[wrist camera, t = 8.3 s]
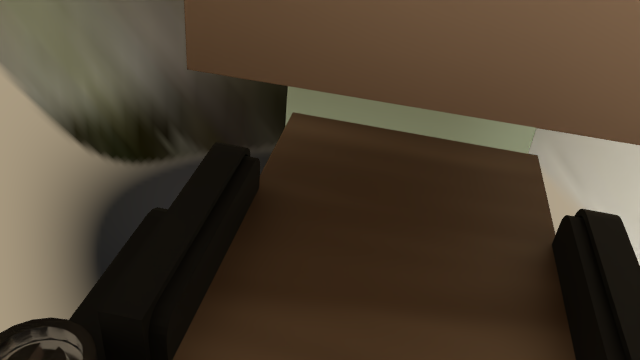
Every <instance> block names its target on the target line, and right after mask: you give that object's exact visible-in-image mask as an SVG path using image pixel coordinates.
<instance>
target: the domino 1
mask: <svg viewBox="0 0 640 360" xmlns="http://www.w3.org/2000/svg"><path fill="white" fill-rule="evenodd" d="M184 9H185V31H186V54H187V69H189V70H195V71H200V72H206V73H212V74H218V75H224V76H230V77H236V78H242V79H248V80H254V81H260V82H266V83H272V84H278V85H284V86H290V87H296V88H302V89H308V90H314V91H320V92H326V93H332V94H338V95H344V96H350V97H356V98H361V99H367V100H373V101H379V102H385V103H391V104H397V105H403V106H409V107H415V108H421V109H427V110H433V111H439V112H445V113H451V114H457V115H463V116H469V117H475V118H481V119H487V120H493V121H499V122H505V123H511V124H517V125H522V126H528V127H534V128H540V129H546V130H552V131H558V132H564V133H570V134H576V135H582V136H588V137H594V138H600V139H606V140H612V141H618V142H624V143H630V144H636V145H640V0H184Z"/></svg>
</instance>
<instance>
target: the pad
mask: <svg viewBox="0 0 640 360" xmlns="http://www.w3.org/2000/svg"><path fill="white" fill-rule="evenodd" d="M293 112H295V113H301V114H306V115H312V116H318V117H323V118H329V119H334V120H340V121H346V122H351V123H357V124H363V125H368V126H374V127H380V128H385V129H391V130H397V131H402V132H408V133H414V134H419V135H425V136H430V137H436V138H442V139H447V140H453V141H459V142H464V143H470V144H476V145H481V146H487V147H493V148H498V149H504V150H510V151H515V152H521V153H526V154H528V151H529V148H530V145H531V142H532V139H533V137H534V134H535V131H536V128H534V127H528V126H522V125H517V124H511V123H505V122H499V121H493V120H487V119H481V118H475V117H469V116H463V115H457V114H451V113H445V112H439V111H433V110H427V109H421V108H415V107H409V106H403V105H397V104H391V103H385V102H379V101H373V100H367V99H361V98H356V97H350V96H344V95H338V94H332V93H326V92H320V91H314V90H308V89H302V88H296V87H290V86H288V91H287V107H286V123H285V126H286V125H287V123H288V121H289V119H290V117H291V115H292V113H293Z"/></svg>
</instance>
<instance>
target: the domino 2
mask: <svg viewBox="0 0 640 360" xmlns="http://www.w3.org/2000/svg"><path fill="white" fill-rule="evenodd" d="M554 238H555V231H554V227H553V222H552V218H551V213H550V209H549V204H548V200H547V195H546V191H545V187H544V182H543V177H542V173H541V168H540V164H539V159H538V155H532V154H526V153H521V152H515V151H510V150H504V149H498V148H493V147H487V146H481V145H476V144H470V143H464V142H459V141H453V140H447V139H442V138H436V137H430V136H425V135H419V134H414V133H408V132H402V131H397V130H391V129H385V128H380V127H374V126H368V125H363V124H357V123H351V122H346V121H340V120H334V119H329V118H323V117H318V116H312V115H306V114H301V113H295V112H293V113H292V115H291V117H290V119H289V121H288V123H287V125H286V126H285V128H284V130H283V132H282V134H281V136H280V138H279V140H278V142H277V144H276V146H275V148H274V150H273V151H272V153H271V155H270V157H269V159H268V161H267V163H266V165H265V167H264V169H263V171H262V173H261V175H260V179H259V189H258V191H257V193H256V195H255V197H254V199H253V201H252V203H251V205H250V207H249V209H248V211H247V213H246V215H245V217H244V219H243V221H242V223H241V225H240V227H239V229H238V231H237V233H236V235H235V237H234V239H233V241H232V243H231V245H230V247H229V249H228V251H227V253H226V255H225V257H224V259H223V261H222V263H221V265H220V267H219V269H218V271H217V273H216V275H215V277H214V279H213V281H212V282H211V284H210V286H209V288H208V290H207V292H206V294H205V296H204V298H203V300H202V302H201V304H200V306H199V308H198V310H197V312H196V314H195V316H194V318H193V320H192V322H191V324H190V326H189V328H188V330H187V332H186V334H185V336H184V338H183V340H182V342H181V344H180V346H179V348H178V350H177V352H176V354H175V356H174V358H173V360H576V358H575V353H574V348H573V344H572V339H571V334H570V329H569V325H568V320H567V315H566V310H565V306H564V301H563V296H562V291H561V286H560V282H559V277H558V272H557V267H556V263H555V258H554V253H553V248H552V243H553V240H554Z"/></svg>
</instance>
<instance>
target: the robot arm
mask: <svg viewBox="0 0 640 360" xmlns="http://www.w3.org/2000/svg"><path fill="white" fill-rule="evenodd" d="M259 179H260V161H259V159H258V158H253V157H250V150H249V149H248V148H245V147H240V146H234V145H229V144H223V143H215V144H214V145H213V146H212V148H211V149H210V151H209V152H208V153H207V155H206V156H205V158H204V159H203V161H202V162H201V163H200V165H199V166H198V168H197V169H196V171H195V172H194V174H193V175H192V176H191V178H190V179H189V181H188V182H187V183H186V185H185V186H184V188H183V189H182V191H181V192H180V193H179V195H178V196H177V198H176V199H175V201H174V202H173V203H172V205H171V206H170V208H169V209H168V210H167V209H163V208H155V209H152V210H151V211H150V212H149V213H148V214H147V216H146V217H145V218H144V220H143V221H142V223H141V224H140V225H139V227H138V228H137V229H136V230H135V232H134V233H133V234H132V236H131V237H130V238H129V240H128V241H127V243H126V244H125V245H124V247H123V248H122V249H121V251H120V252H119V253H118V255H117V256H116V257H115V259H114V260H113V261H112V263H111V264H110V265H109V267H108V268H107V269H106V271H105V272H104V274H103V275H102V276H101V277H100V279H99V280H98V282H97V283H96V284H95V286H94V287H93V288H92V290H91V291H90V292H89V294H88V295H87V296H86V298H85V299H84V300H83V302H82V303H81V304H80V306H79V307H78V309H77V310H76V311H75V312H74V314H73V315H72V317H71V318H70V319H69V320H67V319H58V318H43V319H34V320H30V321H27V322H24V323H20V324H17V325H14V326H12V327H10V328H8V329H7V330H5V331H3V332H1V333H0V360H173V358H174V356H175V354H176V352H177V350H178V348H179V346H180V344H181V342H182V340H183V338H184V336H185V334H186V332H187V330H188V328H189V326H190V324H191V322H192V320H193V318H194V316H195V314H196V312H197V310H198V308H199V306H200V304H201V302H202V300H203V298H204V296H205V294H206V292H207V290H208V288H209V286H210V284H211V282H212V281H213V279H214V277H215V275H216V273H217V271H218V269H219V267H220V265H221V263H222V261H223V259H224V257H225V255H226V253H227V251H228V249H229V247H230V245H231V243H232V241H233V239H234V237H235V235H236V233H237V231H238V229H239V227H240V225H241V223H242V221H243V219H244V217H245V215H246V213H247V211H248V209H249V207H250V205H251V203H252V201H253V199H254V197H255V195H256V193H257V191H258V189H259ZM552 248H553V253H554V258H555V263H556V267H557V272H558V277H559V282H560V286H561V291H562V296H563V301H564V306H565V310H566V315H567V320H568V325H569V329H570V334H571V339H572V344H573V348H574V353H575V358H576V360H640V266H639V263H638V261H637V258H636V255H635V253H634V250H633V248H632V245H631V243H630V240H629V237H628V235H627V232H626V230H625V227H624V225H623V222H622V220H621V218H620V217H619V216H617V215H613V214H608V213H602V212H597V211H591V210H586V209H580V210H579V211H578V212H577V213H576V215H575V216H568V215H566V216H565V217H564V218H563V219H562V221H561V223H560V225H559V228H558V230H557V233H556V235H555V238H554V240H553V243H552Z"/></svg>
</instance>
